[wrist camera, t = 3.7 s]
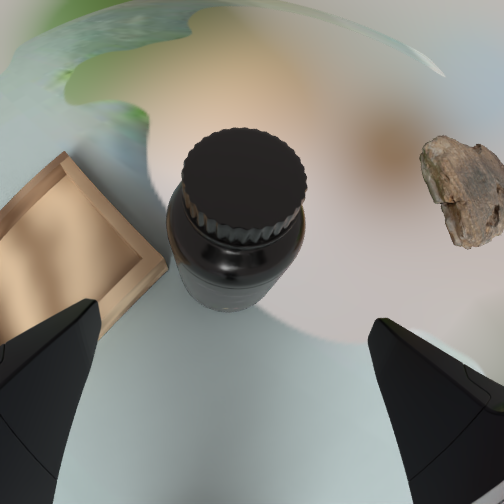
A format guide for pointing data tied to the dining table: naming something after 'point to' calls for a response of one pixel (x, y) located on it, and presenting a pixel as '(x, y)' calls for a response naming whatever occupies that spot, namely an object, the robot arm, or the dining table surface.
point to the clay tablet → (465, 189)
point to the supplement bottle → (236, 217)
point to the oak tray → (68, 252)
